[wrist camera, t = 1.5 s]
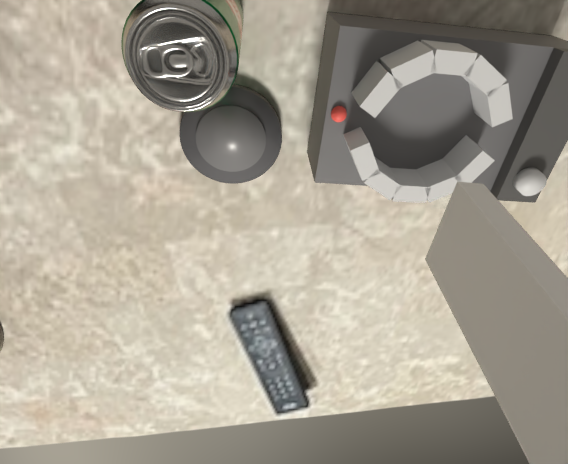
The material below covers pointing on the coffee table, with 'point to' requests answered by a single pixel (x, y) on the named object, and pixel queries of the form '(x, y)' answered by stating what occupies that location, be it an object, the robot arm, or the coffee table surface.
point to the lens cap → (232, 137)
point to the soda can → (183, 51)
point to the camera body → (437, 108)
